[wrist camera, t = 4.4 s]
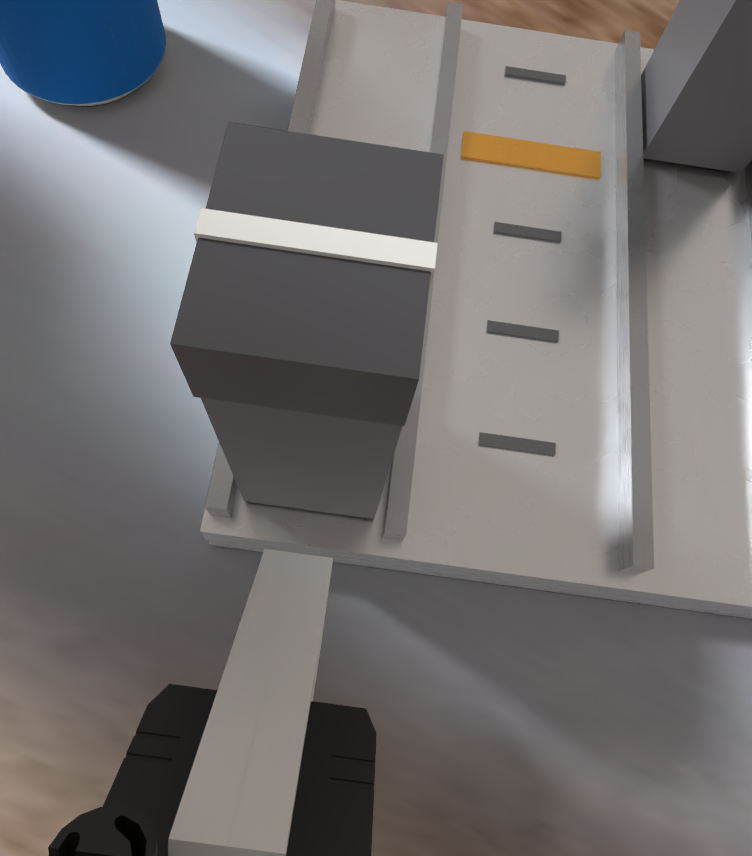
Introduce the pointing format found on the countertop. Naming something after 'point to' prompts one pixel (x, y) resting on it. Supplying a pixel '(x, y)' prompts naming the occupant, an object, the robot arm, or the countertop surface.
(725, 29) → the fader far
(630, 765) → the countertop surface
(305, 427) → the fader near
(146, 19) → the beverage can
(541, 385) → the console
